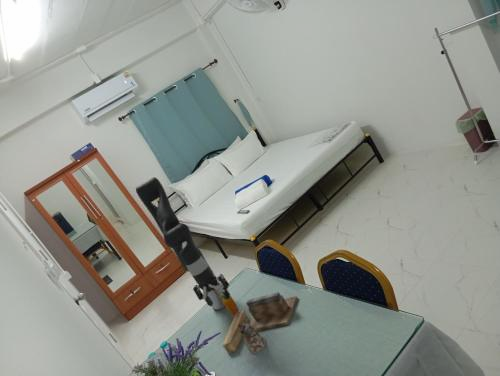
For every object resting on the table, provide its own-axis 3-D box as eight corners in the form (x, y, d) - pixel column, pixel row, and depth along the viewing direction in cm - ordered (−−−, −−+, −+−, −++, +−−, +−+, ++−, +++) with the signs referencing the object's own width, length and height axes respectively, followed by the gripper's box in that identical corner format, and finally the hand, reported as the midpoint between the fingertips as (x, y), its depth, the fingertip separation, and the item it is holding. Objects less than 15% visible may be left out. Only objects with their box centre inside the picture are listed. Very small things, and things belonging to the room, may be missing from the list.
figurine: (260, 353, 173) (245, 329, 170) (246, 353, 177) (231, 330, 174) (268, 339, 178) (253, 316, 175) (254, 340, 183) (240, 317, 180)
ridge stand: (248, 333, 190) (236, 315, 187) (259, 307, 203) (249, 290, 201) (288, 324, 180) (276, 305, 178) (298, 298, 193) (287, 280, 191)
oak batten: (228, 353, 184) (222, 344, 183) (241, 321, 202) (236, 312, 201) (236, 351, 183) (230, 342, 182) (249, 318, 200) (243, 310, 199)
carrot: (241, 318, 203) (225, 293, 199) (232, 322, 205) (215, 296, 201) (243, 311, 208) (227, 286, 204) (234, 315, 209) (218, 290, 205)
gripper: (216, 258, 181) (236, 290, 184) (188, 271, 186) (208, 302, 189) (211, 267, 174) (232, 301, 177) (182, 280, 179) (203, 312, 182)
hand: (220, 301), depth 183 cm, fingers open, 8 cm apart
